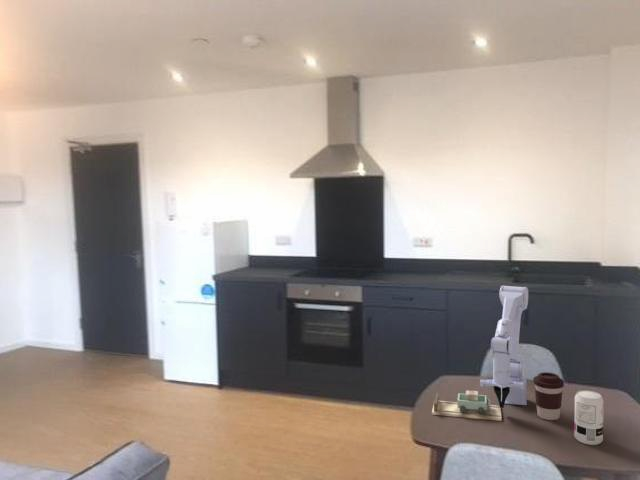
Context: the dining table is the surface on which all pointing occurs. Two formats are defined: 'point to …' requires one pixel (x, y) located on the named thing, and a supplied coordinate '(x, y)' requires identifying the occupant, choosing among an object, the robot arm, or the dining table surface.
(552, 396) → the coffee cup
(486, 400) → the cart
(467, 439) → the dining table surface
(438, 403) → the track board
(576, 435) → the supplement can
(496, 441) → the dining table surface
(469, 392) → the block
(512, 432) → the dining table surface
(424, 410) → the dining table surface
